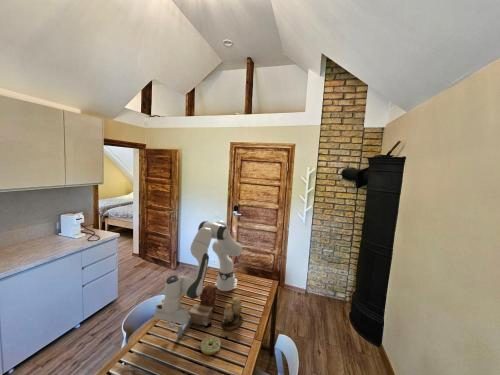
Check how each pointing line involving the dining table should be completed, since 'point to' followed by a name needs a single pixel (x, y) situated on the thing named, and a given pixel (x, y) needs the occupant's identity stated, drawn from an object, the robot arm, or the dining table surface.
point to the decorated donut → (210, 345)
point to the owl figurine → (232, 315)
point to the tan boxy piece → (200, 314)
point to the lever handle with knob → (183, 328)
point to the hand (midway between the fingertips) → (171, 327)
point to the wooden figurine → (208, 296)
